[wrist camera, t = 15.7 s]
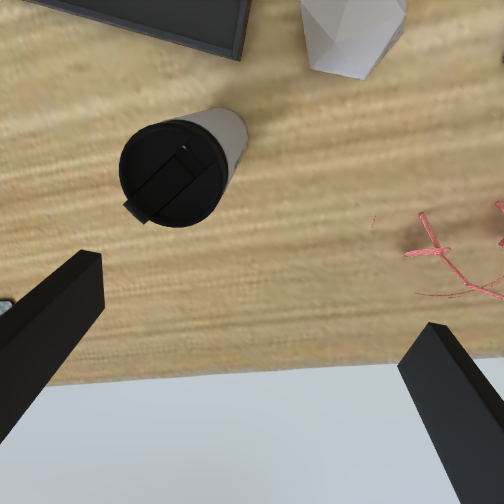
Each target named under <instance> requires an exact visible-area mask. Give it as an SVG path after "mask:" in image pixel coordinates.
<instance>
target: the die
mask: <svg viewBox="0 0 504 504" xmlns="http://www.w3.org/2000/svg"><path fill="white" fill-rule="evenodd" d="M300 6H301V12H302V19H303V26H304V32H305V39H306V46H307V52H308V59H309V66H310V69H313V70H318V71H322V72H327V73H332V74H337V75H342V76H346V77H351V78H356V79H361V80H365V79H366V77H367V76H368V75H369V74H370V73H371V71H372V70H373V69H374V68H375V67H376V65H377V64H378V63H379V62H380V61H381V60H382V58H383V57H384V56H385V55H386V54H387V52H388V51H389V50H390V49H391V48H392V46H393V45H394V44H395V43H396V42H397V41H398V39H399V38H400V37H401V36H402V35H403V32H404V25H405V17H406V0H300Z"/></svg>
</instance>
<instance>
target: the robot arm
mask: <svg viewBox="0 0 504 504" xmlns="http://www.w3.org/2000/svg"><path fill="white" fill-rule="evenodd" d="M104 309H105V301H104V286H103V271H102V255H101V254H100V253H96V252H91V251H86V250H80V251H78V252H77V253H76V254H75V255H74V256H72V257H71V258H70V259H69V260H68V261H66V262H65V263H64V264H63V265H61V266H60V267H59V268H58V269H57V270H55V271H54V272H53V273H52V274H51V275H49V276H48V277H47V278H46V279H44V280H43V281H42V282H41V283H40V284H38V285H37V286H36V287H35V288H34V289H32V290H31V291H30V292H29V293H28V294H26V295H25V296H24V297H23V298H21V299H20V300H19V301H18V302H17V303H15V304H14V305H13V306H12V307H11V308H9V309H8V310H7V311H6V312H5V313H3V314H2V315H1V316H0V444H1V443H2V441H3V440H4V439H5V437H6V436H7V435H8V434H9V432H10V431H11V430H12V428H13V427H14V426H15V425H16V423H17V422H18V421H19V419H20V418H21V417H22V415H23V414H24V412H25V411H26V410H27V409H28V408H29V406H30V405H31V404H32V402H33V401H34V400H35V398H36V397H37V396H38V395H39V393H40V392H41V391H42V389H43V388H44V387H45V386H46V384H47V383H48V382H49V380H50V379H51V378H52V376H53V375H54V374H55V373H56V371H57V370H58V369H59V367H60V366H61V365H62V363H63V362H64V361H65V360H66V358H67V357H68V356H69V354H70V353H71V352H72V350H73V349H74V348H75V347H76V345H77V344H78V343H79V341H80V340H81V339H82V337H83V336H84V335H85V334H86V332H87V331H88V330H89V328H90V327H91V326H92V324H93V323H94V322H95V320H96V319H97V318H98V317H99V315H100V314H101V313H102V311H103V310H104ZM397 367H398V369H399V371H400V374H401V376H402V378H403V380H404V382H405V384H406V386H407V388H408V391H409V393H410V395H411V397H412V399H413V402H414V404H415V406H416V408H417V410H418V412H419V415H420V417H421V419H422V421H423V423H424V425H425V428H426V430H427V432H428V434H429V436H430V438H431V440H432V442H433V445H434V447H435V449H436V451H437V453H438V456H439V457H440V460H441V462H442V464H443V466H444V469H445V471H446V473H447V475H448V477H449V479H450V482H451V484H452V486H453V488H454V490H455V492H456V494H457V497H458V499H459V501H460V503H461V504H504V401H503V400H502V399H501V397H500V396H499V394H498V393H497V392H496V390H495V389H494V388H493V386H492V385H491V384H490V382H489V381H488V380H487V378H486V377H485V376H484V375H483V373H482V372H481V371H480V369H479V368H478V367H477V365H476V364H475V363H474V361H473V360H472V359H471V357H470V356H469V355H468V353H467V352H466V351H465V349H464V348H463V347H462V345H461V344H460V343H459V341H458V340H457V339H456V337H455V336H454V335H453V334H452V332H451V331H450V330H449V328H448V327H447V326H446V325H441V324H436V323H431V322H428V324H427V325H426V327H425V328H424V329H423V331H422V332H421V333H420V335H419V336H418V338H417V339H416V340H415V342H414V343H413V345H412V346H411V347H410V349H409V350H408V352H407V353H406V354H405V356H404V357H403V358H402V360H401V361H400V363H399V364H398V365H397Z"/></svg>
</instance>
